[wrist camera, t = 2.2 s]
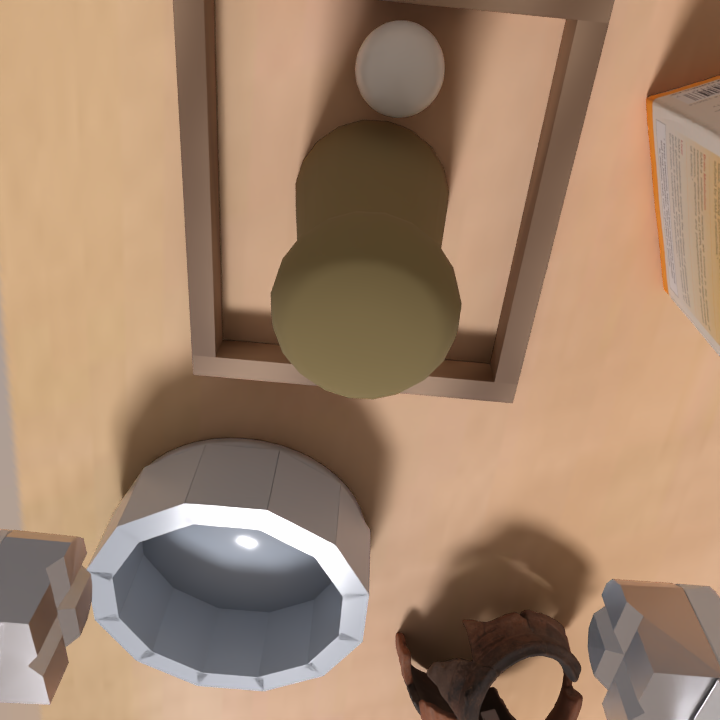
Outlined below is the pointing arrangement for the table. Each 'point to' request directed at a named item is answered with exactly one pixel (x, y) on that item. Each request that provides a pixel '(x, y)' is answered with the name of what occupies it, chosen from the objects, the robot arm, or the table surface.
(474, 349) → the table surface
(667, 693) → the robot arm
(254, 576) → the bowl
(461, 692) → the pottery mug
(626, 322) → the table surface
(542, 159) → the tray
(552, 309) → the table surface
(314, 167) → the cork
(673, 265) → the supplement box
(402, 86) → the pebble
